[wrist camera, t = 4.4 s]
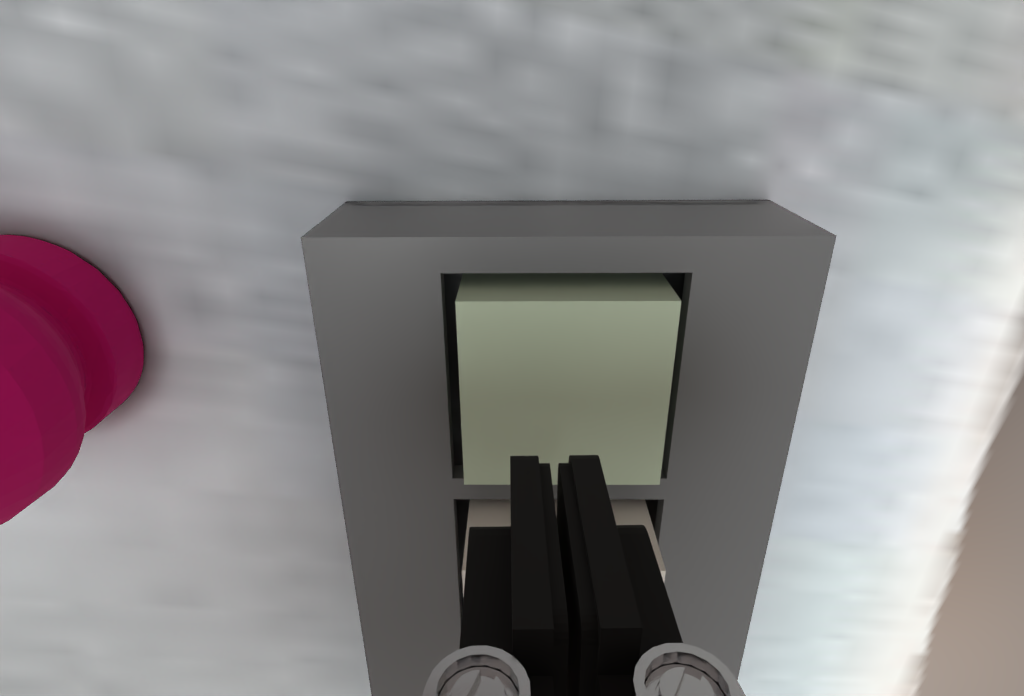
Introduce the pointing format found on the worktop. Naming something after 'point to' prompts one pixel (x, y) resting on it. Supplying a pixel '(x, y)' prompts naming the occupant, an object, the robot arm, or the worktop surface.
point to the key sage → (565, 371)
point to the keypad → (445, 499)
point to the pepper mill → (56, 363)
